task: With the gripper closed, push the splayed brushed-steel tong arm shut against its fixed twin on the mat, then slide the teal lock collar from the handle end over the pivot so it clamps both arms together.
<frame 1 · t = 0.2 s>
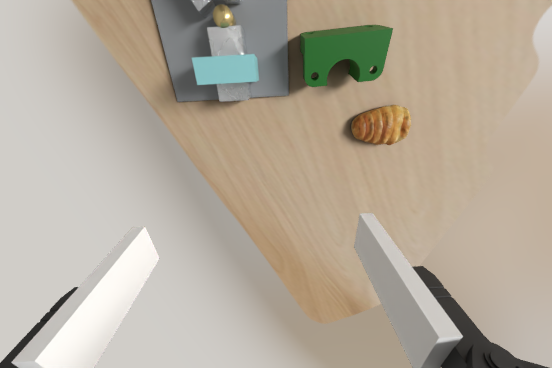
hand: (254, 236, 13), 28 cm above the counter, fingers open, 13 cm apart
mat: (228, 23, 30), on the counter
lock collar: (229, 70, 29), point 4 cm above the counter, slide at 0.0 cm
clamp: (334, 57, 32), on the counter
pastry: (378, 125, 38), on the counter
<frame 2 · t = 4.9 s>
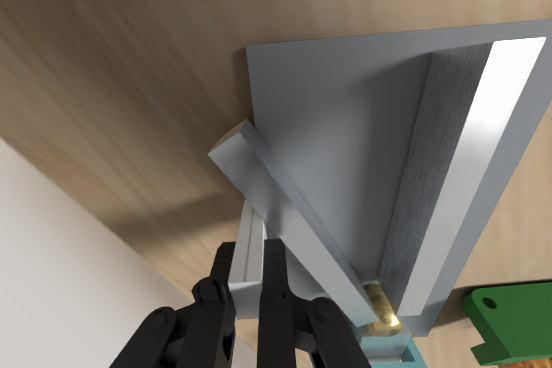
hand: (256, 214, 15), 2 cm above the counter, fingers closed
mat: (368, 285, 22), on the counter
lock collar: (378, 362, 21), point 4 cm above the counter, slide at 0.0 cm
clamp: (499, 299, 24), on the counter
tongs body: (390, 269, 17), on the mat, point 2 cm above the counter
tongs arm: (311, 240, 15), point 3 cm above the counter, hinge at 29.1°, touching gripper
pastry: (526, 346, 30), on the counter
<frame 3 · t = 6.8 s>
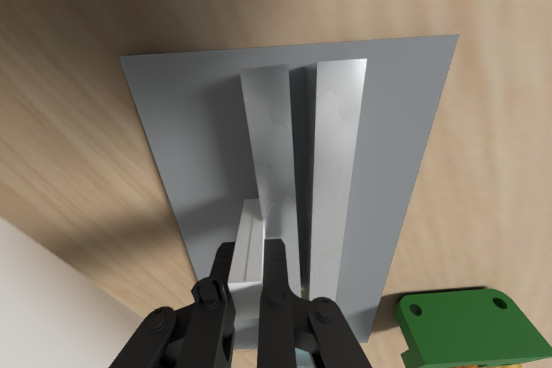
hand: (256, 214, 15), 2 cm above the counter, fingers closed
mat: (299, 291, 22), on the counter
clamp: (434, 305, 24), on the counter
tongs body: (303, 277, 17), on the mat, point 2 cm above the counter
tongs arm: (281, 223, 14), point 3 cm above the counter, hinge at 2.1°, touching gripper
pastry: (472, 354, 30), on the counter
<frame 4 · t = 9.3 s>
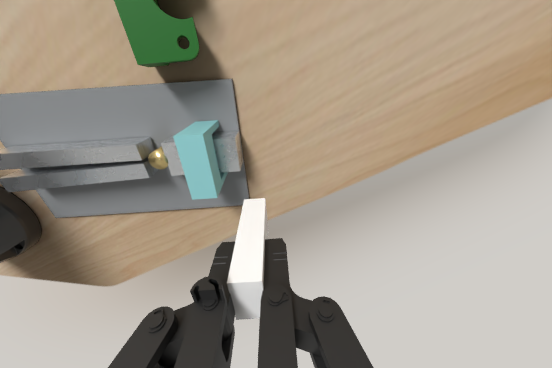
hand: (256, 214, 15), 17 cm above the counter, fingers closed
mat: (172, 149, 29), on the counter
lock collar: (205, 157, 26), point 4 cm above the counter, slide at 0.0 cm
clamp: (167, 5, 22), on the counter
tongs body: (123, 158, 27), on the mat, point 2 cm above the counter
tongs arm: (84, 172, 28), point 3 cm above the counter, hinge at 2.1°
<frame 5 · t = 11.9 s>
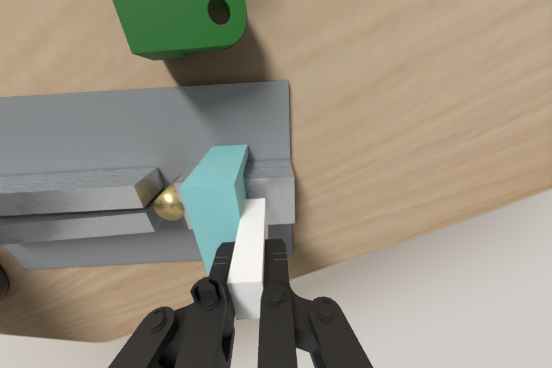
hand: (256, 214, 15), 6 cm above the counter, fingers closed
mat: (188, 183, 20), on the counter
lock collar: (229, 205, 16), point 4 cm above the counter, slide at 1.2 cm, touching gripper
tongs body: (116, 199, 18), on the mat, point 2 cm above the counter
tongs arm: (58, 219, 19), point 3 cm above the counter, hinge at 2.1°
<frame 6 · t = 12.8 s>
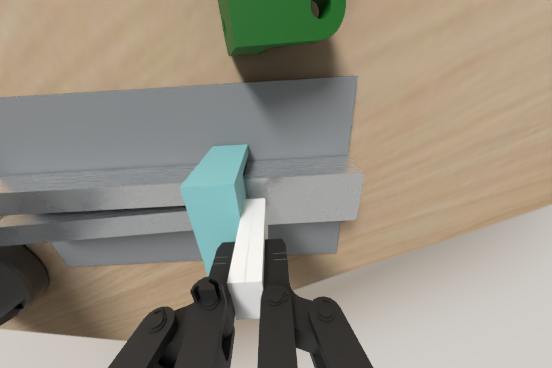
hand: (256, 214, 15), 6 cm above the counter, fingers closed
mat: (241, 180, 20), on the counter
lock collar: (229, 205, 16), point 4 cm above the counter, slide at 6.4 cm, touching gripper
tongs body: (175, 196, 18), on the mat, point 2 cm above the counter
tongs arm: (115, 215, 19), point 3 cm above the counter, hinge at 2.1°
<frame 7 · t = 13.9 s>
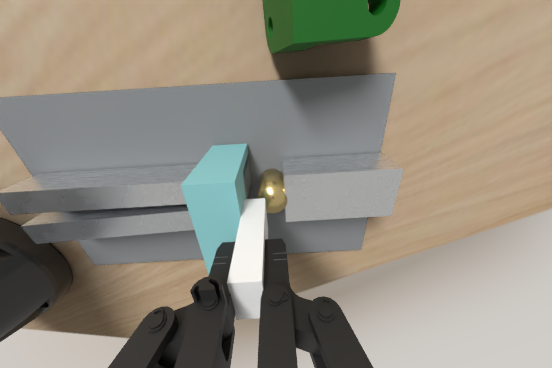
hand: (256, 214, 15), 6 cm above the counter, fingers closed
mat: (272, 177, 20), on the counter
lock collar: (229, 204, 16), point 4 cm above the counter, slide at 9.4 cm, touching gripper
tongs body: (210, 193, 18), on the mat, point 2 cm above the counter
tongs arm: (148, 212, 19), point 3 cm above the counter, hinge at 2.1°
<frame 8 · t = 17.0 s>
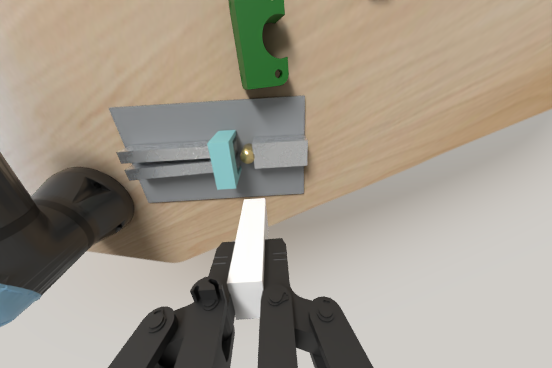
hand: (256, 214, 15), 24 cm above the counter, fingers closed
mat: (249, 148, 38), on the counter
lock collar: (226, 158, 34), point 4 cm above the counter, slide at 9.4 cm
clamp: (260, 44, 31), on the counter
tongs body: (217, 155, 36), on the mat, point 2 cm above the counter
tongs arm: (185, 166, 36), point 3 cm above the counter, hinge at 2.1°
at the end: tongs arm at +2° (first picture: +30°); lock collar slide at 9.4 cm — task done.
